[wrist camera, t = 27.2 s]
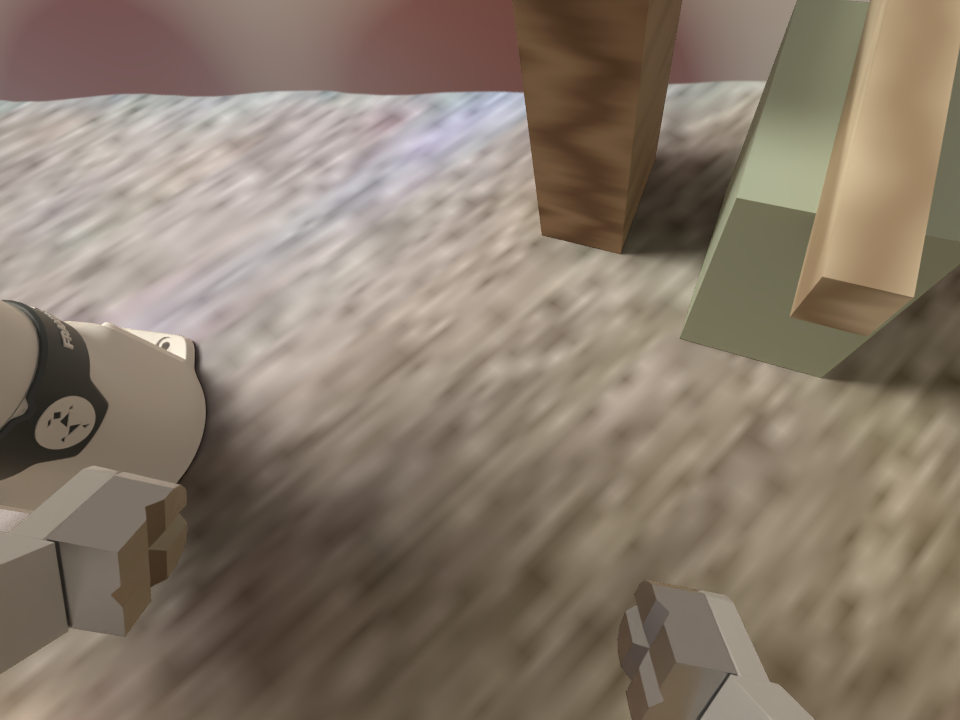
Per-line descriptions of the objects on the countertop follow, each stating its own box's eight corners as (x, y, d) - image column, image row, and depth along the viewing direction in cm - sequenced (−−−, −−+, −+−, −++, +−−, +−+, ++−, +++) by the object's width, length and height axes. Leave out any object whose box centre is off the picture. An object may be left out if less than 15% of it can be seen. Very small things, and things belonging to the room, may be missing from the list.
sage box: (679, 338, 41) (736, 197, 26) (725, 193, 45) (798, -5, 30) (821, 377, 38) (981, 246, 23) (857, 219, 42) (1015, 15, 27)
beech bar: (789, 317, 23) (822, 276, 20) (871, -3, 29) (906, -75, 26) (866, 336, 22) (913, 297, 19) (935, 2, 28) (981, -71, 25)
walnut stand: (515, 254, 47) (445, -74, 23) (569, 131, 51) (555, -258, 27) (629, 283, 44) (681, -59, 20) (676, 151, 48) (767, -267, 24)
